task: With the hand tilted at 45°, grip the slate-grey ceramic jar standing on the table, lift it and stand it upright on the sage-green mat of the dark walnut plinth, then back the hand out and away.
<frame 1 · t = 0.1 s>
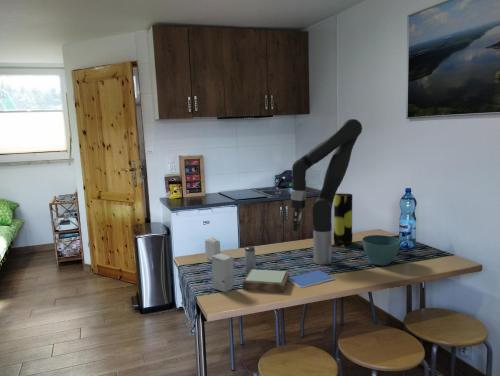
hand: (296, 229, 212), 17 cm above the table, tool pointing down, fingers open, 8 cm apart
blue notebook: (310, 280, 189), on the table
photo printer: (213, 260, 221), on the table
ceramic jar: (250, 271, 202), on the table
skincare box: (223, 288, 181), on the table
plant pot: (380, 263, 208), on the table
container: (342, 245, 242), on the table
plinth: (266, 284, 185), on the table
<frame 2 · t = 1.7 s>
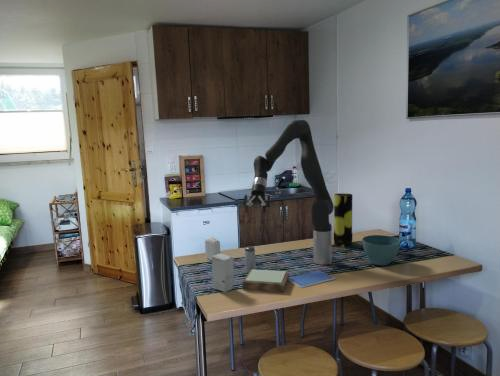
hand: (255, 212, 211), 26 cm above the table, tool tilted 45°, fingers open, 8 cm apart
nothing on the table moved.
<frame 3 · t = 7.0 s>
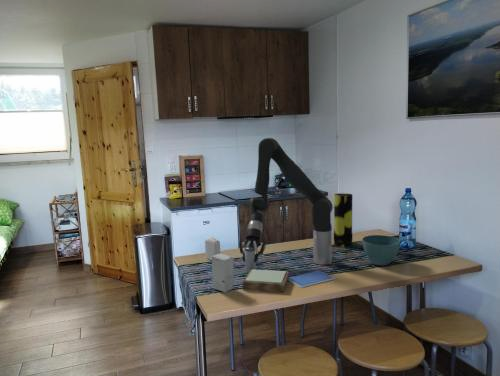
hand: (249, 261, 200), 5 cm above the table, tool tilted 45°, fingers closed on ceramic jar, 5 cm apart
ceramic jar: (250, 271, 202), on the table, touching gripper
everything else where it was.
when the fingers open (11 cm above the table, at t = 13.5 s): ceramic jar drops 1 cm, resting on plinth.
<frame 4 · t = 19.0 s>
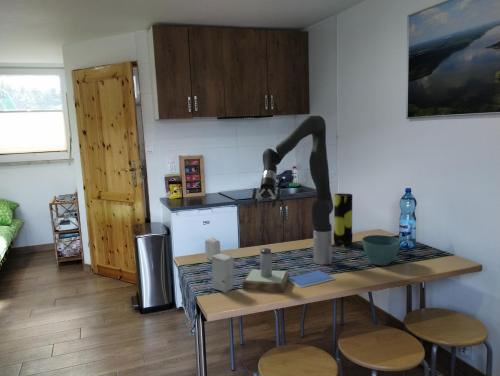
hand: (264, 206, 205), 31 cm above the table, tool tilted 45°, fingers open, 8 cm apart
ceramic jar: (266, 275, 184), point 4 cm above the table, touching plinth
everything else where it was.
at the end: ceramic jar inside the target area on the plinth (0.1 cm from its centre), point 4.0 cm above the plinth's base; ceramic jar tilted 0°; the gripper is holding nothing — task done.
